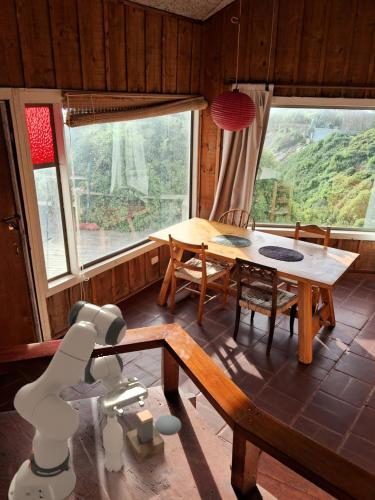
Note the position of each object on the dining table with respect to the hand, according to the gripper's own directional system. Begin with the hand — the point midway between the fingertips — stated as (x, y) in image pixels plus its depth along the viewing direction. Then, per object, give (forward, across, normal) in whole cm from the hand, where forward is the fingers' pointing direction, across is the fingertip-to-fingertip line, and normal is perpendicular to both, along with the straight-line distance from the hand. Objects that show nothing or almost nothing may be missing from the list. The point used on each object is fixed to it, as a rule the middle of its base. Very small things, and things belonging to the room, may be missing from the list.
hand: (132, 410), depth 165 cm
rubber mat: (+6, +13, +10) cm, 18 cm away
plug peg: (+11, 0, +10) cm, 15 cm away
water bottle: (+12, -13, +11) cm, 21 cm away
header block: (+11, 0, +10) cm, 15 cm away
